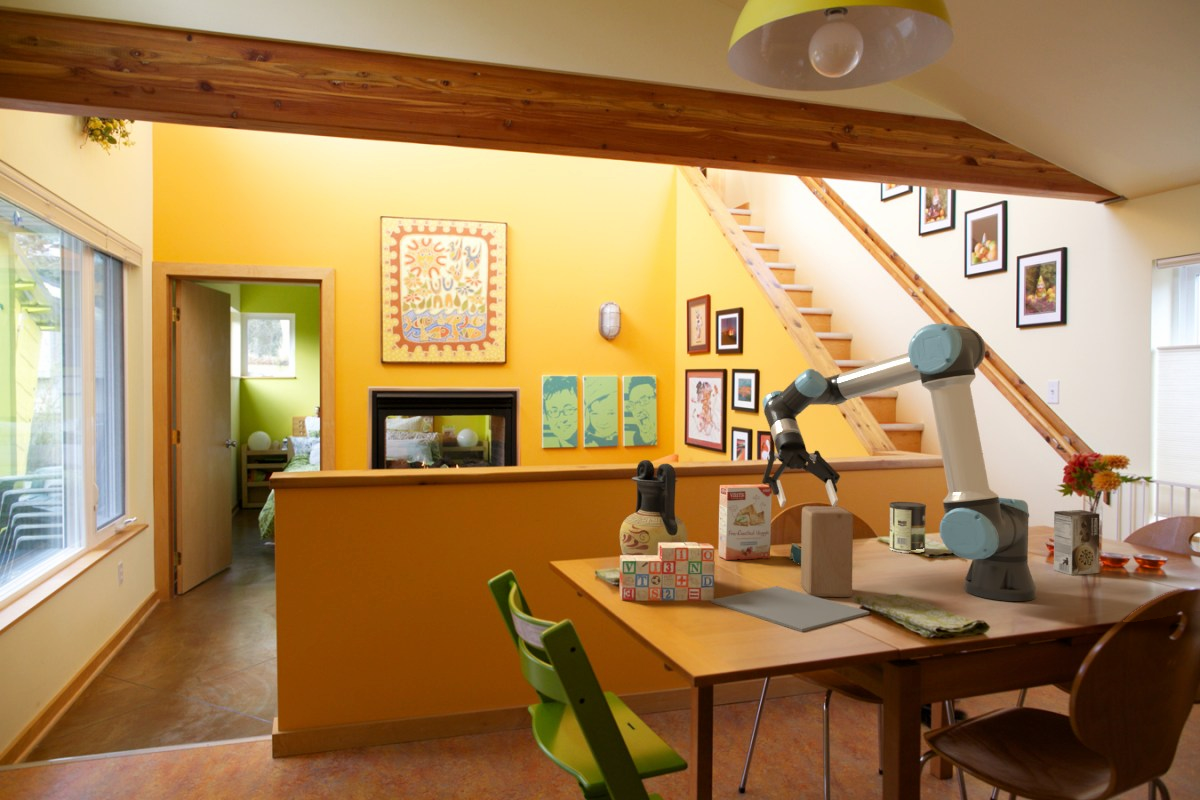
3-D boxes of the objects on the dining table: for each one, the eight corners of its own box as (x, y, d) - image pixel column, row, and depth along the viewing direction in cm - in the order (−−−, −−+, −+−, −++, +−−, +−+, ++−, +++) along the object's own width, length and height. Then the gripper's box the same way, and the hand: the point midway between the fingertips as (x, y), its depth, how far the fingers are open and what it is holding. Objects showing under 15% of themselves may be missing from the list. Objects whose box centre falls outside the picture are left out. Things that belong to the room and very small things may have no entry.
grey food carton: (1079, 568, 215) (1080, 509, 215) (1100, 573, 209) (1101, 513, 209) (1052, 569, 213) (1053, 510, 213) (1071, 575, 207) (1072, 514, 206)
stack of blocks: (621, 601, 178) (621, 547, 178) (619, 594, 185) (619, 542, 184) (714, 600, 180) (715, 547, 179) (709, 593, 186) (709, 541, 186)
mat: (869, 614, 169) (869, 611, 169) (801, 631, 156) (801, 628, 156) (776, 588, 190) (776, 586, 190) (710, 602, 178) (710, 599, 178)
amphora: (701, 582, 196) (702, 462, 195) (651, 593, 185) (652, 466, 185) (654, 569, 210) (655, 457, 209) (604, 578, 199) (605, 460, 199)
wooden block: (853, 598, 182) (854, 512, 182) (809, 597, 182) (810, 512, 182) (840, 587, 192) (841, 506, 192) (799, 586, 192) (800, 505, 192)
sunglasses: (782, 556, 228) (784, 539, 228) (831, 562, 229) (834, 545, 229) (797, 567, 214) (800, 549, 214) (850, 574, 215) (853, 556, 215)
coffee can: (922, 547, 241) (922, 502, 241) (928, 554, 231) (928, 507, 231) (886, 546, 244) (887, 500, 243) (891, 552, 234) (891, 505, 233)
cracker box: (726, 561, 220) (727, 487, 220) (717, 556, 226) (718, 484, 226) (771, 558, 224) (772, 485, 224) (761, 554, 230) (762, 483, 229)
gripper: (827, 448, 215) (851, 511, 201) (740, 448, 212) (757, 513, 198) (836, 430, 210) (861, 494, 196) (746, 430, 207) (765, 495, 192)
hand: (809, 503), depth 197 cm, fingers open, 13 cm apart
